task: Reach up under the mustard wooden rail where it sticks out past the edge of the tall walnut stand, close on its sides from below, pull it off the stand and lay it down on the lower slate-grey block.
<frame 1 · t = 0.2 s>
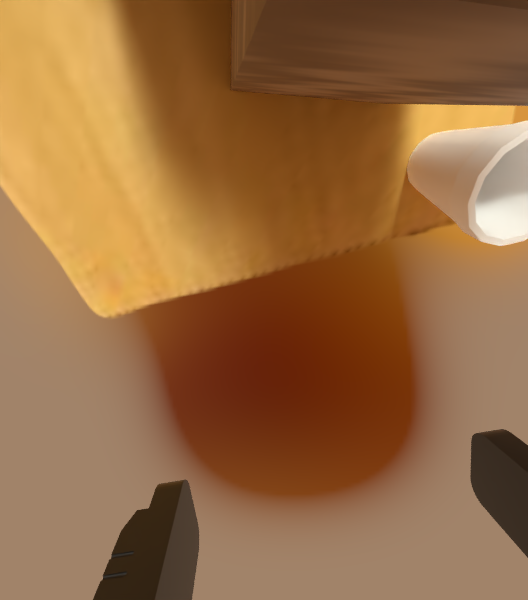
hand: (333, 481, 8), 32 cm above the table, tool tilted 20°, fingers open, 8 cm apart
foam cup: (432, 162, 35), on the table
stand: (320, 30, 28), on the table
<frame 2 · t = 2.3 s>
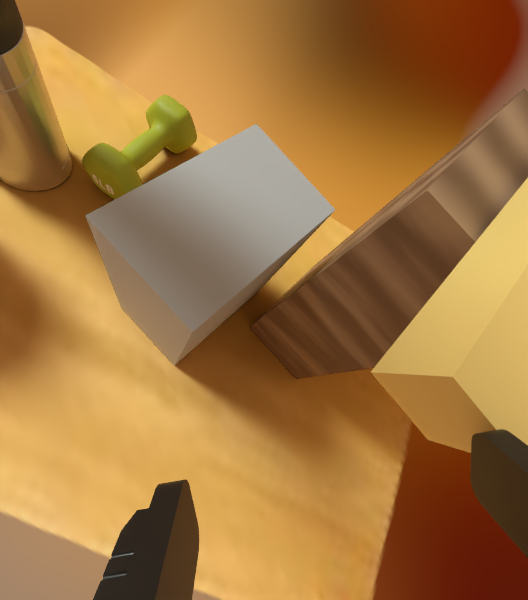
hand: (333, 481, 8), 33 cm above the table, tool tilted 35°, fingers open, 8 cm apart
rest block: (195, 299, 43), on the table
stand: (306, 317, 47), on the table
dumbbell: (145, 167, 46), on the table
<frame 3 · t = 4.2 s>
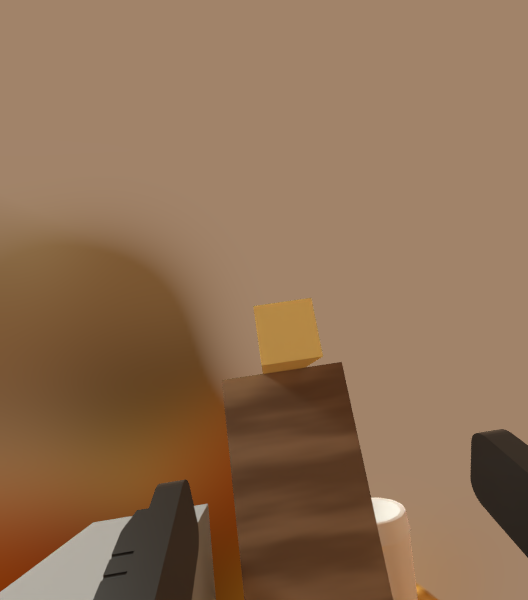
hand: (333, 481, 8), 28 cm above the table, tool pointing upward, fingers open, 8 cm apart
rail: (281, 374, 30), point 32 cm above the table, touching stand
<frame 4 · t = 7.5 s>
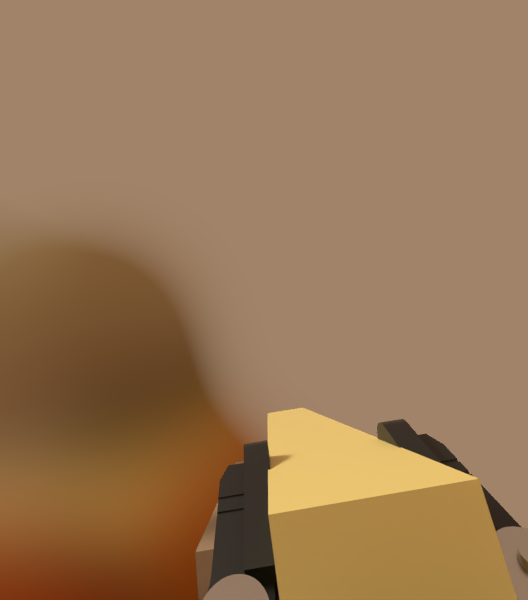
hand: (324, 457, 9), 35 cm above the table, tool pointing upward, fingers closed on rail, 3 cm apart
rail: (309, 492, 16), point 32 cm above the table, touching gripper, stand
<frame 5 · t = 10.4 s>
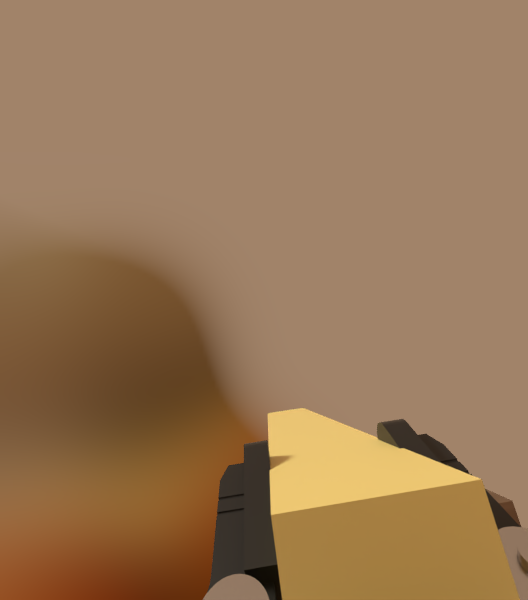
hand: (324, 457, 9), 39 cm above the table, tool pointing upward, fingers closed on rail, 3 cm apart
rail: (310, 492, 16), point 36 cm above the table, touching gripper
when the fingers open (26 cm above the table, at t = 13.6 s): rail moves 1 cm, resting on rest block.
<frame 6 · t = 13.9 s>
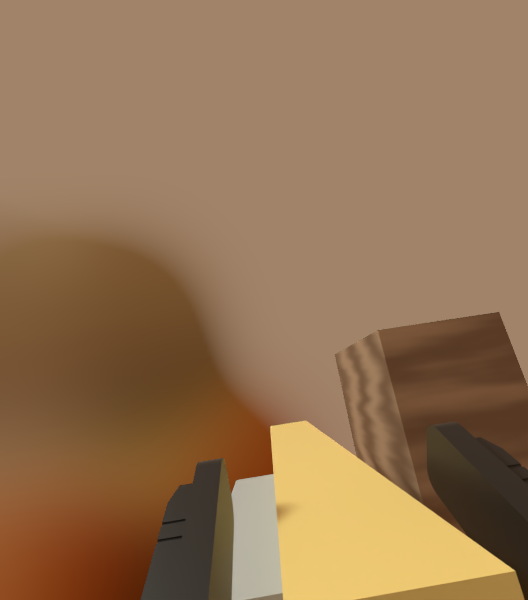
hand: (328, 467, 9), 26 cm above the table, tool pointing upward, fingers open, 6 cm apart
rail: (315, 518, 16), point 22 cm above the table, touching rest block
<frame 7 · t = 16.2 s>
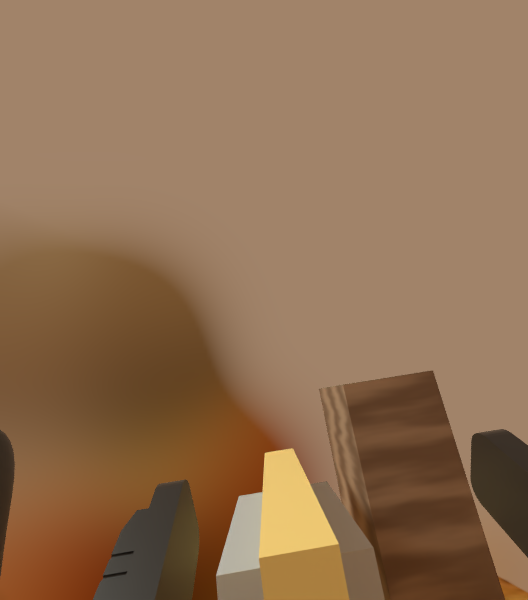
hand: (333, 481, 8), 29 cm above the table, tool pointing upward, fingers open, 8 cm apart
rail: (291, 525, 24), point 22 cm above the table, touching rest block
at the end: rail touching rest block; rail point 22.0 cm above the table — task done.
